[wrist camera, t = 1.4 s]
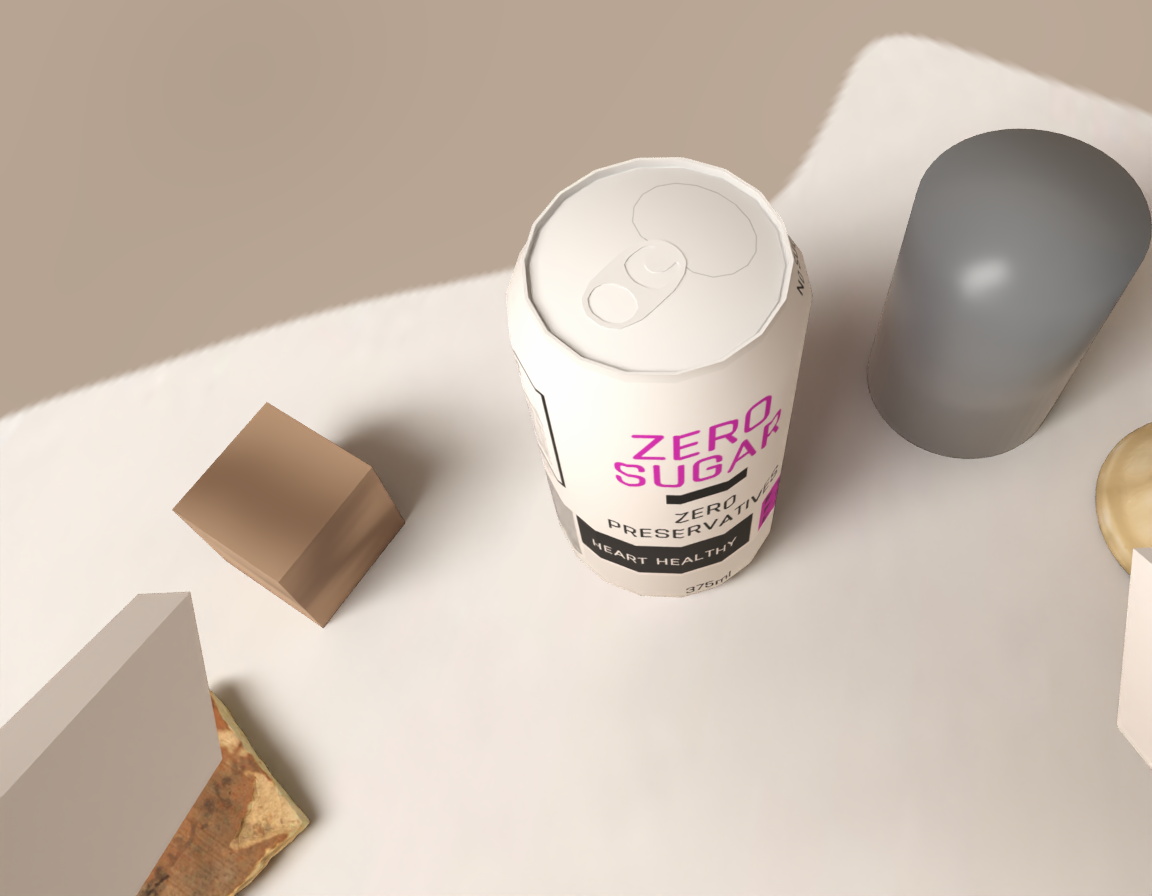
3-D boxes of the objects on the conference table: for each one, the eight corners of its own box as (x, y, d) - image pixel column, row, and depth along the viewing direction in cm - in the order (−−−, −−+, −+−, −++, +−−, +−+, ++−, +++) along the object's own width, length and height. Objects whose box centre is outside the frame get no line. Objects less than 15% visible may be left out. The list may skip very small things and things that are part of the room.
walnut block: (310, 463, 43) (266, 402, 38) (405, 523, 41) (372, 466, 37) (227, 561, 41) (172, 509, 37) (323, 628, 40) (278, 582, 35)
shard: (51, 1075, 34) (19, 1079, 32) (-51, 884, 37) (-84, 879, 35) (323, 833, 36) (307, 825, 35) (207, 673, 40) (187, 660, 38)
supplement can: (656, 372, 43) (642, 94, 30) (818, 494, 40) (885, 245, 27) (515, 508, 41) (433, 274, 28) (675, 649, 38) (670, 461, 25)
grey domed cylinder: (947, 277, 44) (1012, 95, 35) (1090, 381, 41) (1200, 212, 32) (830, 377, 42) (868, 213, 34) (970, 493, 40) (1052, 347, 31)
